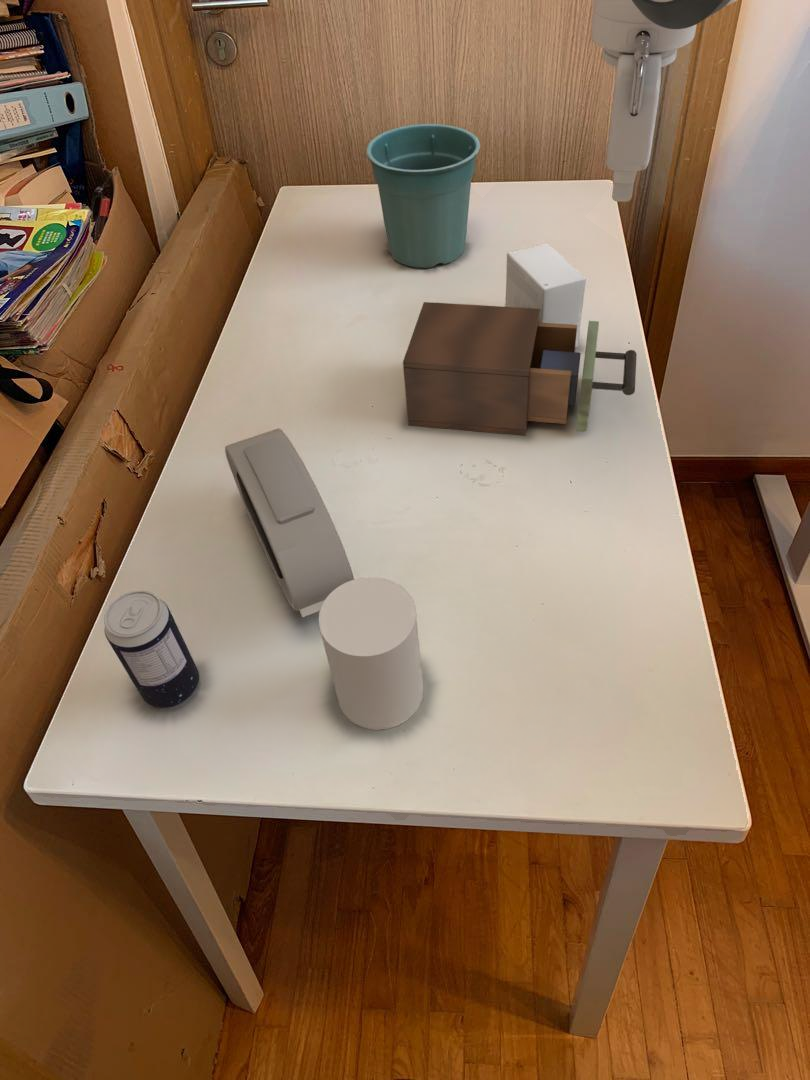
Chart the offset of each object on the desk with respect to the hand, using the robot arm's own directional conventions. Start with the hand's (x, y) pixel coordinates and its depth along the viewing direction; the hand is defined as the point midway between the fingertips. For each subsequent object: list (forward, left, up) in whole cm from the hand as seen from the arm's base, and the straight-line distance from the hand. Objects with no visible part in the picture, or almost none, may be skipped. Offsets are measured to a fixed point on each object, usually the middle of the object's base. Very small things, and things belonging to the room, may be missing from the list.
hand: (623, 175), depth 80 cm
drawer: (+5, 0, -28) cm, 29 cm away
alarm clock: (+30, +29, -29) cm, 51 cm away
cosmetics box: (+8, -15, -29) cm, 34 cm away
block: (+4, 0, -27) cm, 27 cm away
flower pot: (+28, -36, -29) cm, 54 cm away
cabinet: (+15, 0, -29) cm, 33 cm away
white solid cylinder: (+17, +44, -29) cm, 55 cm away
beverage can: (+37, +47, -29) cm, 67 cm away
